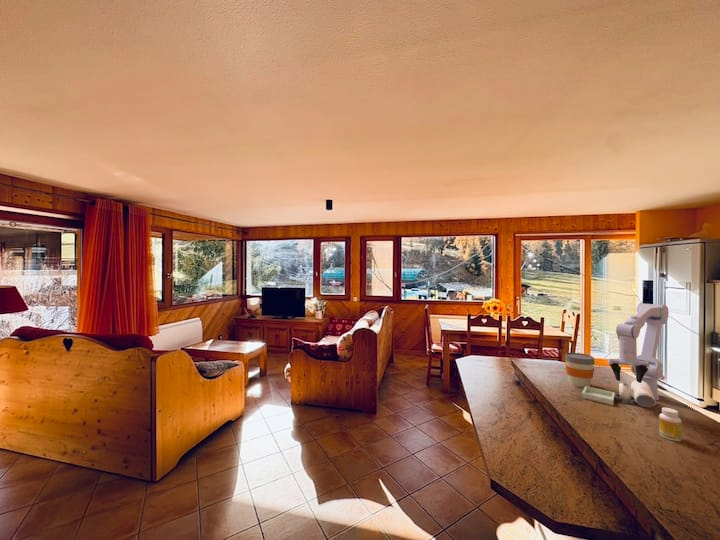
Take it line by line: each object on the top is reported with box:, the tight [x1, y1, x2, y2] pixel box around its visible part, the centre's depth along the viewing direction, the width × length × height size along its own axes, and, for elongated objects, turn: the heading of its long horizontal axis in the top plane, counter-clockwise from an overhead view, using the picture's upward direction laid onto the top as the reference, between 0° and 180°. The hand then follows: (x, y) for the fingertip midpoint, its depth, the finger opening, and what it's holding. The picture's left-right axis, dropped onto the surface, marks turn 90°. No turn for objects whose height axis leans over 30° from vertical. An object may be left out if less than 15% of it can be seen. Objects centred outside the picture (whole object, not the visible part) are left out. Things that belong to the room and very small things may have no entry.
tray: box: [581, 386, 616, 406], centre depth 135 cm, size 11×11×2 cm
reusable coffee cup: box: [564, 352, 595, 389], centre depth 151 cm, size 13×13×15 cm
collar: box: [614, 392, 639, 406], centre depth 132 cm, size 8×8×2 cm
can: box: [630, 379, 657, 408], centre depth 129 cm, size 6×6×12 cm
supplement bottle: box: [658, 407, 683, 442], centre depth 103 cm, size 5×5×10 cm
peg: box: [618, 381, 632, 400], centre depth 132 cm, size 4×4×8 cm
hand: (628, 381), depth 130 cm, fingers open, 7 cm apart
